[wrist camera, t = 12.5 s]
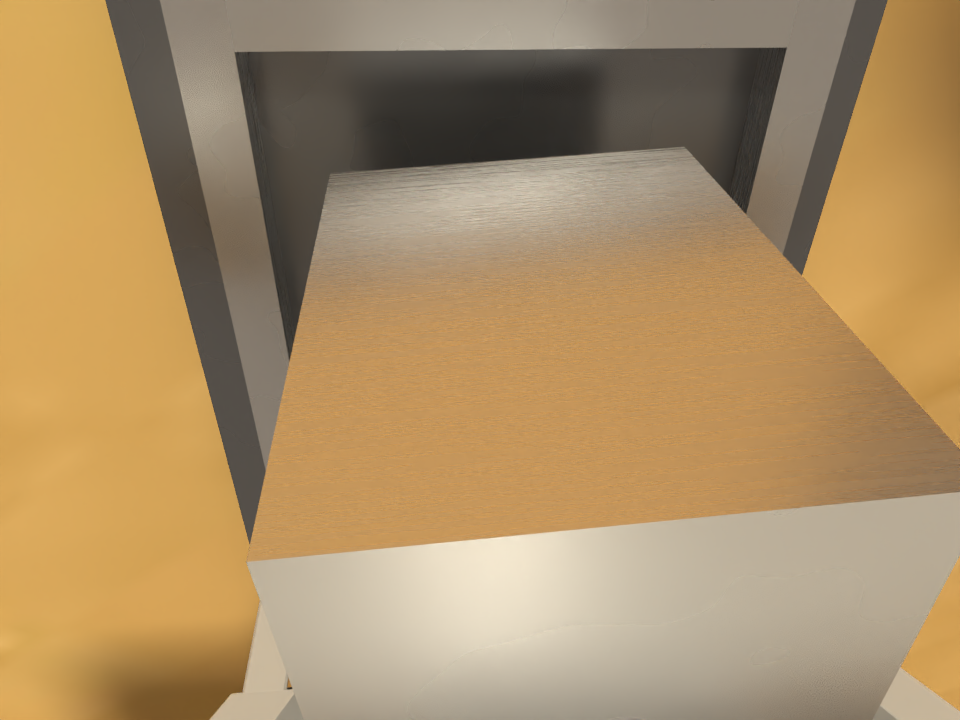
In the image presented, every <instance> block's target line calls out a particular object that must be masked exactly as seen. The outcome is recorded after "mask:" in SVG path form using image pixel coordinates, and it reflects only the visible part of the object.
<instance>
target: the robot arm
mask: <svg viewBox="0 0 960 720" xmlns="http://www.w3.org/2000/svg"><path fill="white" fill-rule="evenodd" d="M209 720H304V719H303V716H302V713H301V711H300V708H299V705H298V702H297V700H296V697H295V694H294V692H293V689H292V686H291V683H290V681H289V678H288V675H287V672H286V670H285V667H284V664H283V661H282V659H281V656H280V653H279V650H278V648H277V645H276V642H275V639H274V637H273V634H272V631H271V629H270V626H269V623H268V620H267V618H266V615H265V612H264V609H263V607H262V604H261V601H260V603H259V608H258V613H257V618H256V624H255V629H254V634H253V639H252V645H251V650H250V655H249V660H248V665H247V671H246V676H245V681H244V686H243V692H240V693H231V694H230V695H229V697H228V698H227V699H226V700H225V701H224V703H223V704H222V705H221V706H220V707H219V708H218V710H217V711H216V712H215V713H214V714H213V716H212V717H211V718H210V719H209ZM873 720H960V711H959V710H957V709H956V708H955V707H953V706H952V705H950V704H949V703H948V702H946V701H945V700H944V699H942V698H941V697H940V696H938V695H937V694H936V693H934V692H933V691H932V690H930V689H929V688H927V687H926V686H925V685H923V684H922V683H921V682H919V681H918V680H917V679H915V678H914V677H913V676H911V675H910V674H909V673H907V672H906V671H905V670H903V669H902V668H900V669H899V671H898V673H897V674H896V676H895V678H894V680H893V682H892V684H891V686H890V688H889V689H888V691H887V693H886V695H885V697H884V699H883V701H882V703H881V704H880V706H879V708H878V710H877V712H876V714H875V716H874V718H873Z"/></svg>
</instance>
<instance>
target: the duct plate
mask: <svg viewBox="0 0 960 720" xmlns="http://www.w3.org/2000/svg"><path fill="white" fill-rule="evenodd" d="M105 1H106V4H107V8H108V12H109V16H110V20H111V23H112V27H113V31H114V35H115V38H116V42H117V46H118V50H119V53H120V57H121V61H122V65H123V69H124V72H125V76H126V80H127V84H128V87H129V91H130V95H131V99H132V102H133V106H134V110H135V114H136V118H137V121H138V125H139V129H140V133H141V136H142V140H143V144H144V148H145V152H146V155H147V159H148V163H149V167H150V170H151V174H152V178H153V182H154V185H155V189H156V193H157V197H158V201H159V204H160V208H161V212H162V216H163V219H164V223H165V227H166V231H167V234H168V238H169V242H170V246H171V250H172V253H173V257H174V261H175V265H176V268H177V272H178V276H179V280H180V284H181V287H182V291H183V295H184V299H185V302H186V306H187V310H188V314H189V317H190V321H191V325H192V329H193V333H194V336H195V340H196V344H197V348H198V351H199V355H200V359H201V363H202V366H203V370H204V374H205V378H206V382H207V385H208V389H209V393H210V397H211V400H212V404H213V408H214V412H215V415H216V419H217V423H218V427H219V431H220V434H221V438H222V442H223V446H224V449H225V453H226V457H227V461H228V465H229V468H230V472H231V476H232V480H233V483H234V487H235V491H236V495H237V498H238V502H239V506H240V510H241V514H242V517H243V521H244V525H245V529H246V532H247V536H248V540H249V544H250V542H251V537H252V533H253V528H254V524H255V519H256V514H257V510H258V505H259V500H260V496H261V491H262V487H263V482H264V477H265V473H266V468H267V463H268V459H269V454H270V450H271V445H272V440H273V436H274V431H275V427H276V422H277V417H278V413H279V408H280V403H281V399H282V394H283V390H284V385H285V380H286V376H287V371H288V366H289V362H290V357H291V353H292V348H293V343H294V339H295V334H296V329H297V325H298V320H299V316H300V311H301V306H302V302H303V297H304V293H305V288H306V283H307V279H308V274H309V269H310V265H311V260H312V256H313V251H314V246H315V242H316V237H317V232H318V228H319V223H320V219H321V214H322V209H323V205H324V200H325V195H326V191H327V186H328V182H329V177H330V173H342V172H356V171H369V170H382V169H396V168H409V167H422V166H435V165H449V164H462V163H475V162H488V161H502V160H515V159H528V158H542V157H555V156H568V155H581V154H595V153H608V152H621V151H634V150H648V149H661V148H674V147H685V148H686V149H687V150H688V151H689V152H690V153H691V154H692V156H693V157H694V158H695V159H696V160H697V161H698V162H699V163H700V164H701V165H702V167H703V168H704V169H705V170H706V171H707V172H708V173H709V174H710V175H711V176H712V178H713V179H714V180H715V181H716V182H717V183H718V184H719V185H720V186H721V187H722V189H723V190H724V191H725V192H726V193H727V194H728V195H729V196H730V197H731V198H732V200H733V201H734V202H735V203H736V204H737V205H738V206H739V207H740V208H741V209H742V211H743V212H744V213H745V214H746V215H747V216H748V217H749V218H750V219H751V220H752V222H753V223H754V224H755V225H756V226H757V227H758V228H759V229H760V230H761V231H762V233H763V234H764V235H765V236H766V237H767V238H768V239H769V240H770V241H771V242H772V244H773V245H774V246H775V247H776V248H777V249H778V250H779V251H780V252H781V253H782V255H783V256H784V257H785V258H786V259H787V260H788V261H789V262H790V263H791V264H792V266H793V267H794V268H795V269H796V270H797V271H798V272H799V273H800V274H801V275H802V273H803V270H804V267H805V264H806V261H807V257H808V254H809V251H810V248H811V244H812V241H813V238H814V235H815V232H816V228H817V225H818V222H819V219H820V216H821V212H822V209H823V206H824V203H825V199H826V196H827V193H828V190H829V187H830V183H831V180H832V177H833V174H834V171H835V167H836V164H837V161H838V158H839V155H840V151H841V148H842V145H843V142H844V138H845V135H846V132H847V129H848V126H849V122H850V119H851V116H852V113H853V110H854V106H855V103H856V100H857V97H858V93H859V90H860V87H861V84H862V81H863V77H864V74H865V71H866V68H867V65H868V61H869V58H870V55H871V52H872V49H873V45H874V42H875V39H876V36H877V32H878V29H879V26H880V23H881V20H882V16H883V13H884V10H885V7H886V4H887V0H105Z"/></svg>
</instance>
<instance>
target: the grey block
mask: <svg viewBox="0 0 960 720" xmlns="http://www.w3.org/2000/svg"><path fill="white" fill-rule="evenodd" d="M959 556H960V449H959V448H958V447H957V446H956V445H955V444H954V443H953V442H952V440H951V439H950V438H949V437H948V436H947V435H946V434H945V433H944V432H943V431H942V429H941V428H940V427H939V426H938V425H937V424H936V423H935V422H934V421H933V420H932V418H931V417H930V416H929V415H928V414H927V413H926V412H925V411H924V410H923V409H922V407H921V406H920V405H919V404H918V403H917V402H916V401H915V400H914V399H913V398H912V396H911V395H910V394H909V393H908V392H907V391H906V390H905V389H904V388H903V387H902V385H901V384H900V383H899V382H898V381H897V380H896V379H895V378H894V377H893V376H892V374H891V373H890V372H889V371H888V370H887V369H886V368H885V367H884V366H883V365H882V363H881V362H880V361H879V360H878V359H877V358H876V357H875V356H874V355H873V354H872V352H871V351H870V350H869V349H868V348H867V347H866V346H865V345H864V344H863V343H862V341H861V340H860V339H859V338H858V337H857V336H856V335H855V334H854V333H853V332H852V330H851V329H850V328H849V327H848V326H847V325H846V324H845V323H844V322H843V321H842V319H841V318H840V317H839V316H838V315H837V314H836V313H835V312H834V311H833V310H832V308H831V307H830V306H829V305H828V304H827V303H826V302H825V301H824V300H823V299H822V297H821V296H820V295H819V294H818V293H817V292H816V291H815V290H814V289H813V288H812V286H811V285H810V284H809V283H808V282H807V281H806V280H805V279H804V278H803V277H802V275H801V274H800V273H799V272H798V271H797V270H796V269H795V268H794V267H793V266H792V264H791V263H790V262H789V261H788V260H787V259H786V258H785V257H784V256H783V255H782V253H781V252H780V251H779V250H778V249H777V248H776V247H775V246H774V245H773V244H772V242H771V241H770V240H769V239H768V238H767V237H766V236H765V235H764V234H763V233H762V231H761V230H760V229H759V228H758V227H757V226H756V225H755V224H754V223H753V222H752V220H751V219H750V218H749V217H748V216H747V215H746V214H745V213H744V212H743V211H742V209H741V208H740V207H739V206H738V205H737V204H736V203H735V202H734V201H733V200H732V198H731V197H730V196H729V195H728V194H727V193H726V192H725V191H724V190H723V189H722V187H721V186H720V185H719V184H718V183H717V182H716V181H715V180H714V179H713V178H712V176H711V175H710V174H709V173H708V172H707V171H706V170H705V169H704V168H703V167H702V165H701V164H700V163H699V162H698V161H697V160H696V159H695V158H694V157H693V156H692V154H691V153H690V152H689V151H688V150H687V149H686V148H685V147H674V148H661V149H648V150H634V151H621V152H608V153H595V154H581V155H568V156H555V157H542V158H528V159H515V160H502V161H488V162H475V163H462V164H449V165H435V166H422V167H409V168H396V169H382V170H369V171H356V172H342V173H330V177H329V182H328V186H327V191H326V195H325V200H324V205H323V209H322V214H321V219H320V223H319V228H318V232H317V237H316V242H315V246H314V251H313V256H312V260H311V265H310V269H309V274H308V279H307V283H306V288H305V293H304V297H303V302H302V306H301V311H300V316H299V320H298V325H297V329H296V334H295V339H294V343H293V348H292V353H291V357H290V362H289V366H288V371H287V376H286V380H285V385H284V390H283V394H282V399H281V403H280V408H279V413H278V417H277V422H276V427H275V431H274V436H273V440H272V445H271V450H270V454H269V459H268V463H267V468H266V473H265V477H264V482H263V487H262V491H261V496H260V500H259V505H258V510H257V514H256V519H255V524H254V528H253V533H252V537H251V542H250V547H249V551H248V556H247V561H246V563H247V566H248V568H249V571H250V574H251V576H252V579H253V582H254V585H255V587H256V590H257V593H258V596H259V598H260V601H261V604H262V607H263V609H264V612H265V615H266V618H267V620H268V623H269V626H270V629H271V631H272V634H273V637H274V639H275V642H276V645H277V648H278V650H279V653H280V656H281V659H282V661H283V664H284V667H285V670H286V672H287V675H288V678H289V681H290V683H291V686H292V689H293V692H294V694H295V697H296V700H297V702H298V705H299V708H300V711H301V713H302V716H303V719H304V720H873V718H874V716H875V714H876V712H877V710H878V708H879V706H880V704H881V703H882V701H883V699H884V697H885V695H886V693H887V691H888V689H889V688H890V686H891V684H892V682H893V680H894V678H895V676H896V674H897V673H898V671H899V669H900V667H901V665H902V663H903V661H904V659H905V657H906V656H907V654H908V652H909V650H910V648H911V646H912V644H913V642H914V641H915V639H916V637H917V635H918V633H919V631H920V629H921V627H922V625H923V624H924V622H925V620H926V618H927V616H928V614H929V612H930V610H931V609H932V607H933V605H934V603H935V601H936V599H937V597H938V595H939V594H940V592H941V590H942V588H943V586H944V584H945V582H946V580H947V578H948V577H949V575H950V573H951V571H952V569H953V567H954V565H955V563H956V562H957V560H958V558H959Z"/></svg>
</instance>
